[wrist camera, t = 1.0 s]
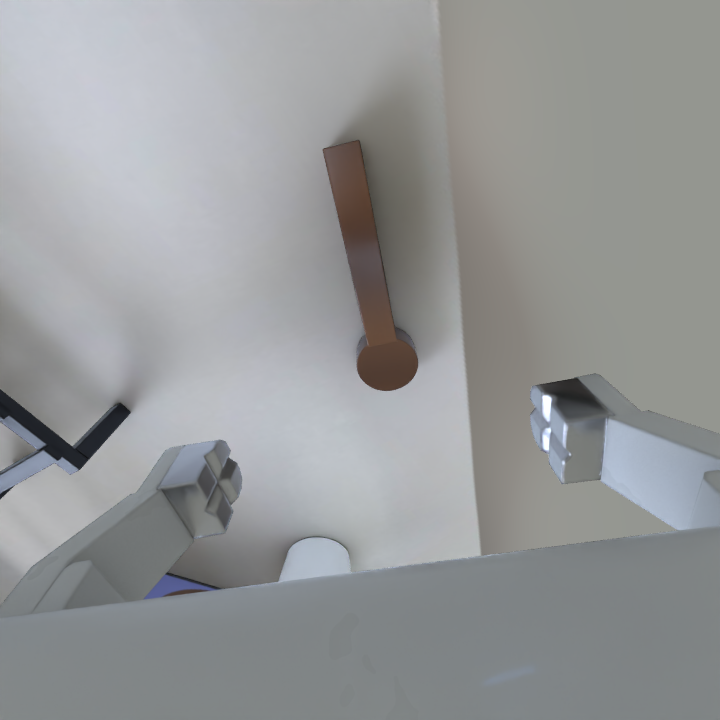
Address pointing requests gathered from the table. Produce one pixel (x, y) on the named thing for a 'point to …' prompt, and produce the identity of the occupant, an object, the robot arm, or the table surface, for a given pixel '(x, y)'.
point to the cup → (315, 559)
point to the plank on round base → (368, 274)
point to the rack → (51, 442)
